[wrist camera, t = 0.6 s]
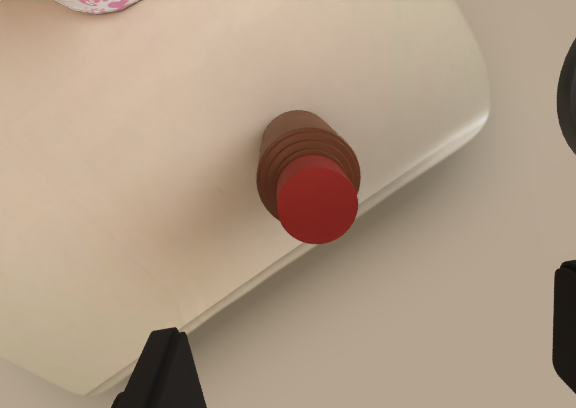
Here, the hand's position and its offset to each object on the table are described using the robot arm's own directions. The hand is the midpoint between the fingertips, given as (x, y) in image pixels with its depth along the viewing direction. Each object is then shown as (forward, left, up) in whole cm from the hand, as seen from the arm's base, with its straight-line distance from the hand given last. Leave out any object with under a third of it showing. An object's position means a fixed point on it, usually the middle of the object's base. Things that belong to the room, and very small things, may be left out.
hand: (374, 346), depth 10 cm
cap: (0, 0, -14) cm, 14 cm away
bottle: (0, 0, -28) cm, 28 cm away
